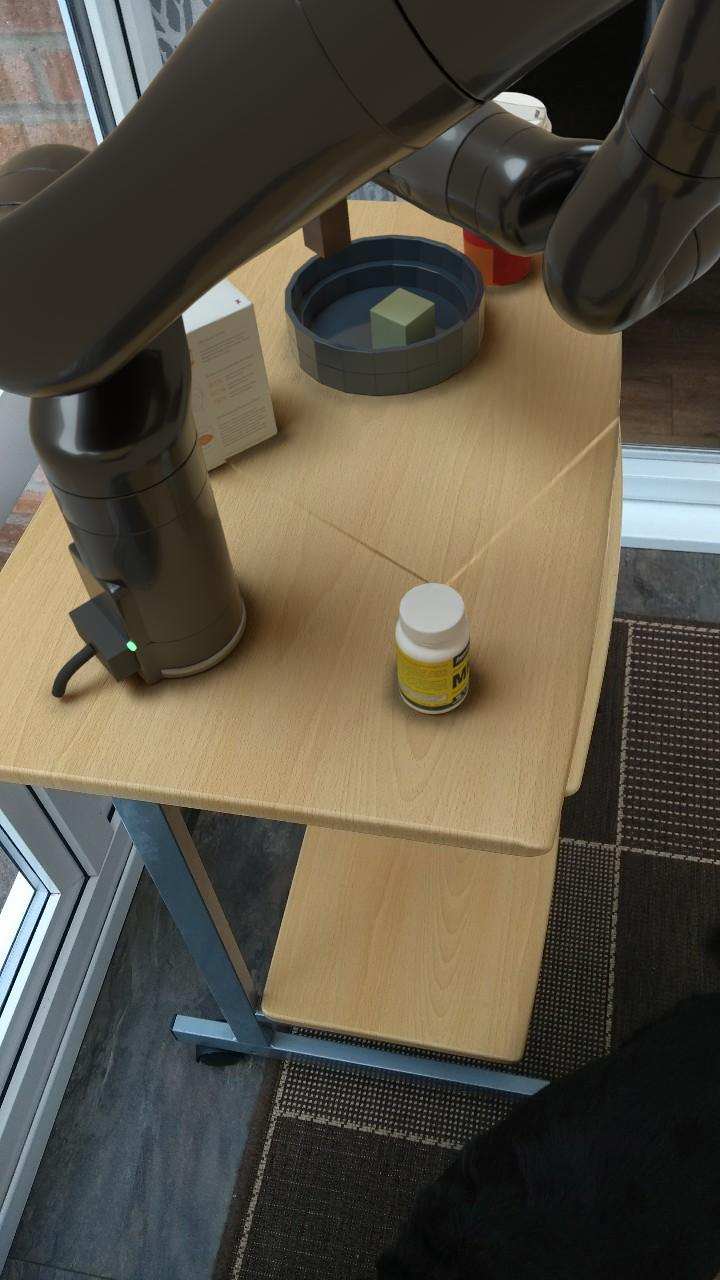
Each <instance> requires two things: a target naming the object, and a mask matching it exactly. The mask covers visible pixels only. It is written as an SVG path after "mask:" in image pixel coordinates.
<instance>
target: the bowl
mask: <svg viewBox="0 0 720 1280" xmlns="http://www.w3.org/2000/svg"><path fill="white" fill-rule="evenodd" d="M351 244H352V245H351V246H349V247H347V248H345V249H343V250H341V251H339V252H338V253H336V254H334V255H332V256H330V257H328V258H326V259H324V258H323V257H321V256H319V255H318V254H315V255H313V256H311V257H310V258H309V259H307V260H306V261H305V262H304V263H303V264H302V265H301V266H299V268H298V269H296V270H295V271H294V272H293V273H292V276H291V277H290V279H289V280H288V281H289V282H288V283H287V285H286V287H285V290H284V313H285V314H284V315H285V319H286V320H285V321H286V327H287V332H288V339H289V346H290V351H291V353H292V356H293V357H294V359H295V361H296V362H297V364H298V366H299V367H300V369H301V370H302V371H304V372H305V373H306V374H307V375H309V376H310V377H312V378H313V379H314V380H316V381H317V382H318V383H320V384H323V385H325V386H328V387H331V388H333V389H336V390H339V391H342V392H345V393H349V394H357V395H368V396H374V397H375V396H377V397H379V396H391V395H401V394H409V393H410V394H411V393H413V392H417V391H420V390H423V389H426V388H430V387H433V386H436V385H439V384H440V383H442V382H444V381H446V380H447V379H448V378H451V377H452V376H454V375H456V374H457V373H459V372H460V371H462V370H463V369H464V368H465V367H466V366H467V365H468V364H469V363H470V362H471V361H472V359H473V358H474V357H475V356H476V355H477V353H478V352H479V350H480V346H481V344H482V340H483V337H484V334H485V306H486V305H485V304H486V303H485V301H486V288H485V285H484V283H483V279H482V274H481V271H480V270H479V269H478V268H477V266H476V265H475V264H474V263H473V262H472V260H471V259H470V258H469V257H468V256H467V255H465V254H464V252H462V251H460V250H458V249H457V248H455V247H453V246H452V245H450V244H448V243H445V242H441V241H439V240H435V239H432V238H428V237H424V236H418V235H405V234H381V235H371V236H362V237H359V238H354V239H351ZM398 288H401V289H404V290H406V291H408V292H410V293H413V294H415V295H417V296H420V297H422V298H424V299H427V300H429V301H431V302H433V303H435V333H436V336H435V337H433V338H430V339H426V340H423V341H420V342H416V343H413V344H410V345H406V346H398V347H387V348H376V349H373V343H372V330H371V317H370V310H371V309H372V308H373V307H375V306H376V305H377V304H378V303H380V302H381V301H382V300H384V299H385V298H386V297H388V296H389V295H390V294H392V293H393V292H394V291H396V290H397V289H398Z"/></svg>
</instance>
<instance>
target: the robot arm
mask: <svg viewBox="0 0 720 1280" xmlns="http://www.w3.org/2000/svg"><path fill="white" fill-rule="evenodd" d="M633 1H634V0H212V1H211V2H210V4H209V5H208V6H207V7H206V8H205V10H204V11H203V12H202V13H201V15H200V16H199V18H198V19H196V21H195V23H193V25H192V26H191V27H190V29H189V30H188V31H187V33H186V34H185V35H184V37H183V38H182V39H181V41H180V42H179V43H178V44H177V46H176V47H175V48H174V50H173V51H172V53H171V54H170V55H169V56H168V59H167V60H166V61H165V62H164V64H163V65H162V67H161V68H160V69H159V71H158V72H157V74H155V76H154V77H153V79H152V80H151V82H150V83H149V84H148V86H147V87H146V88H145V90H144V91H143V92H142V94H141V95H140V97H139V98H138V99H137V101H136V102H135V103H134V105H133V106H132V107H131V109H130V110H129V111H128V113H127V114H126V115H125V116H124V117H123V119H121V121H120V122H119V124H117V126H116V127H115V128H114V129H113V130H112V131H111V132H110V133H109V134H108V135H107V136H106V137H105V138H104V139H103V140H102V141H101V142H100V143H99V144H98V145H97V146H96V147H94V149H92V151H91V150H89V149H87V148H84V147H81V146H77V145H73V144H69V143H68V144H67V143H43V144H38V145H34V146H30V147H28V148H25V149H23V150H20V151H19V152H17V153H15V154H14V155H12V156H11V157H10V158H9V159H7V160H6V161H4V163H3V164H1V166H0V390H1V391H3V392H5V393H8V394H13V395H16V396H21V397H23V398H29V407H28V418H27V419H28V420H27V425H28V427H27V428H28V434H29V439H30V443H31V446H32V449H33V451H34V454H35V456H36V458H37V461H38V463H39V465H40V468H41V470H42V472H43V474H44V475H45V478H46V480H47V482H48V485H49V487H50V489H51V491H52V495H53V497H54V499H55V501H56V503H57V506H58V508H59V510H60V513H61V514H62V517H63V520H64V521H65V524H66V526H67V528H68V530H69V533H70V536H71V538H72V540H73V541H72V542H71V543H69V544H68V546H67V547H68V548H67V549H68V552H69V554H70V556H71V558H72V561H73V563H74V565H75V567H76V569H77V572H78V574H79V576H80V579H81V581H82V583H83V585H84V588H85V590H86V592H87V594H88V597H89V600H87V601H86V602H84V603H82V604H80V605H79V606H77V607H75V608H73V609H72V610H69V612H68V615H69V617H70V620H71V622H72V623H73V626H74V628H75V630H76V632H77V634H78V636H79V638H80V639H81V640H82V642H84V644H85V645H84V646H83V647H82V649H80V650H78V652H76V654H75V655H73V656H72V657H71V658H70V659H69V660H68V661H67V662H66V663H65V664H64V665H63V666H62V667H61V669H60V670H59V672H58V673H57V675H56V676H55V679H54V681H53V684H52V689H51V695H52V697H54V698H57V699H61V698H64V697H65V695H66V694H65V693H66V690H67V686H68V683H69V681H70V680H71V678H72V677H73V676H74V675H75V674H76V673H77V672H78V671H79V670H80V669H81V668H82V667H84V665H85V664H87V663H88V662H89V661H90V660H91V659H92V658H94V656H95V657H96V658H97V659H98V660H99V662H100V663H101V664H102V665H103V667H104V668H105V669H106V671H108V672H109V674H110V675H111V676H112V678H113V679H114V680H115V681H116V682H117V684H118V683H121V682H122V681H124V680H125V679H127V678H128V677H130V676H131V675H133V674H135V673H136V672H137V673H138V675H140V677H141V678H142V679H143V680H144V681H145V683H146V684H147V685H154V684H155V683H156V682H159V681H160V680H162V679H165V678H167V679H168V678H171V679H172V678H183V677H189V676H191V675H192V676H193V675H196V674H200V673H202V672H204V671H207V670H208V669H211V668H213V667H214V666H216V665H217V664H219V663H220V662H222V661H223V660H224V659H226V658H227V657H228V656H229V655H230V654H231V653H232V652H233V651H234V650H235V649H236V647H237V646H238V645H239V642H240V641H241V639H242V637H243V635H244V633H245V629H246V626H247V625H246V624H247V610H246V606H245V602H244V599H243V596H242V594H241V590H240V586H239V583H238V580H237V577H236V573H235V570H234V566H233V562H232V559H231V555H230V551H229V547H228V543H227V539H226V536H225V533H224V528H223V524H222V520H221V517H220V513H219V510H218V506H217V501H216V498H215V495H214V494H215V493H214V491H213V487H212V483H211V479H210V475H209V471H207V467H206V464H205V460H204V456H203V452H202V448H201V444H200V440H199V437H198V433H197V429H196V425H195V420H194V416H193V412H192V403H191V401H192V366H191V358H190V352H189V347H188V342H187V337H186V332H185V327H184V322H183V317H182V314H183V313H184V312H185V311H186V310H187V309H188V308H190V307H191V306H192V305H193V304H194V303H195V302H196V301H197V300H199V299H200V298H201V297H202V296H204V295H205V294H206V293H207V292H208V291H210V290H211V289H212V288H213V287H214V286H216V285H217V284H218V283H220V282H221V281H222V280H224V279H225V278H226V279H227V277H229V276H230V275H232V274H233V273H234V272H236V271H237V270H238V269H241V268H242V267H243V266H245V265H246V264H248V263H250V262H251V261H252V260H254V259H255V258H256V257H259V256H260V255H262V254H264V253H265V252H266V251H268V250H270V249H271V248H273V247H274V246H276V245H278V244H279V243H281V242H283V241H284V240H285V239H287V238H289V237H290V236H291V235H293V234H294V233H296V232H297V231H299V230H302V227H304V226H305V225H307V224H308V223H310V222H311V221H313V220H314V219H316V218H317V217H319V216H320V215H322V214H323V213H324V212H326V211H327V210H329V209H330V208H332V207H333V206H335V205H336V204H338V203H339V202H341V201H342V200H344V199H345V198H346V197H347V198H348V197H349V196H351V195H352V194H354V193H355V192H357V191H358V190H360V189H361V188H363V187H364V186H365V185H367V184H369V182H372V183H374V184H376V185H377V186H379V187H381V188H383V189H384V190H386V191H388V192H389V193H391V194H393V195H395V196H396V197H398V198H400V199H402V200H404V201H405V202H407V203H409V204H410V205H412V206H413V207H416V208H418V209H419V210H421V211H423V212H425V213H426V214H428V215H429V216H431V217H433V218H435V219H438V220H441V221H443V222H446V223H449V224H452V225H455V226H457V227H459V228H462V230H463V229H465V230H467V231H468V232H470V233H472V234H474V235H475V236H477V237H479V238H481V239H482V240H484V241H486V242H488V243H489V244H491V245H493V246H495V247H497V248H498V249H500V250H502V251H504V252H507V253H509V254H512V255H517V256H523V257H527V256H531V257H533V256H537V255H540V254H542V256H541V257H542V258H541V275H542V283H543V288H544V291H545V294H546V296H547V299H548V302H549V304H550V305H551V307H552V308H553V310H554V312H555V313H556V315H557V316H558V317H559V318H560V320H562V321H563V322H564V323H565V324H567V325H568V326H570V327H571V328H573V329H575V330H577V331H579V332H581V333H584V334H587V335H593V336H608V335H614V334H618V333H621V332H623V331H625V330H628V329H630V328H632V327H633V326H635V325H637V324H638V323H639V322H641V321H642V320H644V319H645V318H646V317H648V316H649V315H651V314H652V313H654V311H656V310H657V309H659V308H660V307H661V306H663V305H664V304H665V303H666V302H668V301H669V300H671V299H672V298H674V296H675V295H677V294H679V293H680V292H682V291H683V290H684V289H686V288H687V287H689V286H690V285H692V283H694V282H695V281H697V280H698V279H699V278H701V277H702V276H703V275H704V274H706V273H707V272H708V271H709V270H710V269H711V268H712V267H713V265H715V264H716V262H717V261H718V260H719V259H720V0H664V2H663V5H662V8H661V9H660V12H659V14H658V17H657V19H656V21H655V25H654V27H653V29H652V32H651V34H650V35H649V36H650V37H649V39H648V42H647V45H646V47H645V48H644V51H643V54H642V57H641V59H640V62H639V64H638V66H637V69H636V71H635V74H634V77H633V79H632V82H631V84H630V87H629V89H628V92H627V94H626V97H625V100H624V103H623V106H622V109H621V112H620V114H619V117H618V119H617V121H616V123H615V124H614V126H613V127H612V129H611V130H610V132H609V133H608V135H607V136H606V137H605V139H604V140H600V139H593V138H575V137H574V138H573V137H564V136H559V135H557V134H555V133H553V132H552V131H551V132H549V131H547V130H545V129H543V128H541V127H539V126H537V125H535V124H533V123H531V122H528V121H526V120H524V119H522V118H520V117H518V116H515V115H513V114H511V113H510V112H508V111H506V110H505V109H504V108H503V107H501V106H500V105H498V104H497V103H495V102H494V101H492V100H493V99H494V98H495V97H497V96H498V95H499V94H501V93H502V92H506V90H507V89H509V88H511V86H514V84H515V83H517V82H518V81H519V80H521V79H522V78H523V77H525V76H526V75H527V74H529V73H530V72H531V71H532V70H534V69H535V68H537V67H538V66H539V65H541V64H542V63H544V62H545V61H547V59H549V58H551V57H552V56H553V55H554V54H556V53H557V52H559V51H560V50H561V49H563V48H565V47H567V45H569V44H570V43H571V42H573V41H575V40H576V39H577V38H579V37H580V36H582V35H583V34H585V33H586V32H587V31H589V30H591V29H592V28H594V27H595V26H597V25H598V24H599V23H601V22H603V21H604V20H606V19H607V18H609V17H611V16H612V15H613V14H615V13H616V12H617V11H620V10H621V9H622V8H624V7H625V6H627V5H629V4H630V3H632V2H633Z"/></svg>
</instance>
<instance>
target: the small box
mask: <svg viewBox="0 0 720 1280" xmlns="http://www.w3.org/2000/svg"><path fill="white" fill-rule="evenodd" d="M182 317H183V322H184V327H185V332H186V337H187V342H188V347H189V352H190V358H191V366H192V401H191V403H192V412H193V416H194V420H195V425H196V429H197V433H198V437H199V440H200V444H201V448H202V452H203V456H204V460H205V464H206V467H207V471H208V472H210V471H211V470H214V469H216V468H218V467H220V466H221V465H223V464H226V463H228V461H227V459H229V458H231V457H233V456H235V455H238V454H240V453H241V452H243V451H246V450H248V449H250V448H251V447H254V446H256V445H258V444H260V443H262V442H264V441H266V440H268V439H270V438H271V437H274V436H275V435H277V434H278V428H277V421H276V418H275V413H274V412H275V411H274V406H273V399H272V394H271V390H270V385H269V379H268V375H267V369H266V364H265V359H264V354H263V350H262V344H261V338H260V332H259V327H258V323H257V322H258V321H257V317H256V313H255V307H254V303H253V302H252V301H251V300H250V299H248V298H247V297H246V296H245V295H244V294H243V293H242V291H240V290H239V289H238V288H237V287H236V286H235V285H234V284H232V283H231V282H230V281H229V280H228V279H227V277H226V278H225V279H224V280H222V281H221V282H220V283H218V284H217V285H216V286H214V287H213V288H212V289H211V290H210V291H208V292H207V293H206V294H205V295H204V296H202V297H201V298H200V299H199V300H197V301H196V302H195V303H194V304H193V305H192V306H191V307H190V308H188V309H187V310H186V311H185V312H184V313H183V314H182Z"/></svg>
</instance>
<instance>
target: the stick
mask: <svg viewBox="0 0 720 1280" xmlns="http://www.w3.org/2000/svg"><path fill="white" fill-rule="evenodd" d="M349 215H350V214H349V205H348V197H346V198H345V199H344V200H342V201H341V202H339V203H338V204H336V205H335V206H333V207H332V208H330V209H329V210H327V211H326V212H324V213H323V214H322V215H320V216H319V217H317V218H316V219H314V220H313V221H311V222H310V223H308V224H307V225H305V226H304V227H302V228H301V230H302V235H303V245H304V247H306V248H307V249H309V251H312V252H314V254H315V255H317V254H318V255H319V256H321V257H323V258H324V259H326V258H328V257H330V256H332V255H334V254H336V253H338V252H339V251H341V250H343V249H345V248H347V247H349V246H351V245H352V244H351V240H352V235H351V226H350V216H349Z"/></svg>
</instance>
